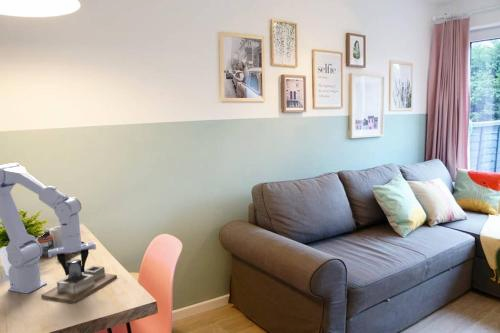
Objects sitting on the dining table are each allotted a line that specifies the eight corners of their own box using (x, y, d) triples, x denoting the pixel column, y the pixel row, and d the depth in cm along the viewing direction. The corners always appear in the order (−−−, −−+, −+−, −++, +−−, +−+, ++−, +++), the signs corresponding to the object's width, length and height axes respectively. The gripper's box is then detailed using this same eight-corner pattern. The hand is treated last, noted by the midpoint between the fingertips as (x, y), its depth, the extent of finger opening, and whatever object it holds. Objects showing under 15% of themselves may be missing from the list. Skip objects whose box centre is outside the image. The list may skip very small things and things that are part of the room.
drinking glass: (71, 248, 171) (69, 227, 169) (57, 253, 165) (55, 231, 164) (63, 246, 174) (61, 225, 173) (49, 250, 169) (46, 229, 167)
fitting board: (41, 297, 124) (40, 286, 123) (86, 273, 142) (86, 263, 142) (74, 303, 119) (73, 291, 119) (116, 277, 138) (116, 267, 137)
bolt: (85, 252, 171) (65, 264, 156) (75, 247, 171) (54, 258, 156) (90, 241, 170) (70, 252, 155) (81, 236, 170) (60, 246, 155)
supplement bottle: (43, 254, 165) (40, 229, 163) (57, 253, 165) (54, 228, 164) (36, 259, 159) (33, 233, 157) (51, 258, 159) (48, 232, 158)
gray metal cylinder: (65, 280, 127) (63, 263, 126) (76, 274, 131) (74, 258, 130) (74, 282, 125) (73, 264, 124) (85, 276, 129) (83, 260, 128)
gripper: (45, 241, 120) (50, 281, 122) (94, 234, 126) (98, 272, 127) (47, 235, 126) (51, 273, 128) (93, 228, 132) (97, 265, 134)
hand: (75, 272), depth 128 cm, fingers closed on gray metal cylinder, 4 cm apart
